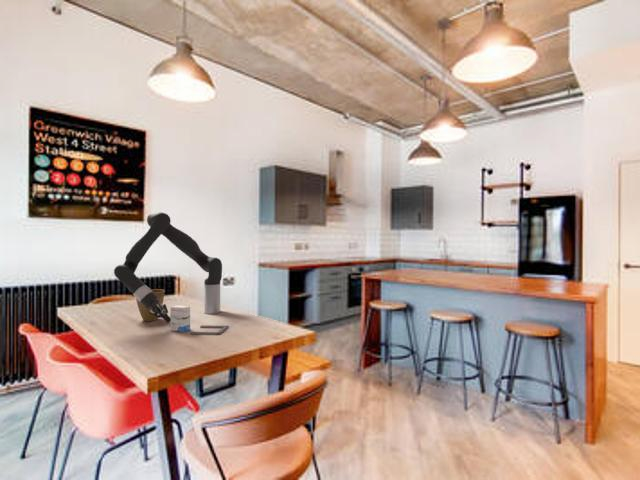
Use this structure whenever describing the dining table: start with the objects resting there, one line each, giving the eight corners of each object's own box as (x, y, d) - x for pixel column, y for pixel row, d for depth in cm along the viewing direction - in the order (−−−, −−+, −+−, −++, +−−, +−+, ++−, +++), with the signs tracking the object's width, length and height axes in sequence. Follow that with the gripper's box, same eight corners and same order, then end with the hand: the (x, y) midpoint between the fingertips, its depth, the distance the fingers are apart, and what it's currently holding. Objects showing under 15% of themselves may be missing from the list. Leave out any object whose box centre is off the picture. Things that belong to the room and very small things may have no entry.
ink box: (190, 329, 180) (190, 306, 179) (183, 332, 175) (183, 308, 175) (177, 328, 183) (177, 304, 182) (170, 330, 178) (169, 306, 178)
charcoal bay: (201, 326, 185) (201, 325, 185) (228, 327, 184) (228, 325, 184) (190, 334, 172) (190, 332, 172) (219, 334, 171) (219, 333, 171)
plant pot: (170, 316, 207) (169, 289, 206) (155, 323, 192) (155, 293, 191) (145, 316, 208) (145, 288, 208) (129, 322, 193) (129, 292, 193)
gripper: (144, 293, 172) (168, 319, 172) (158, 289, 186) (181, 313, 185) (133, 304, 173) (158, 330, 172) (147, 299, 186) (171, 323, 186)
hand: (169, 321), depth 179 cm, fingers closed
